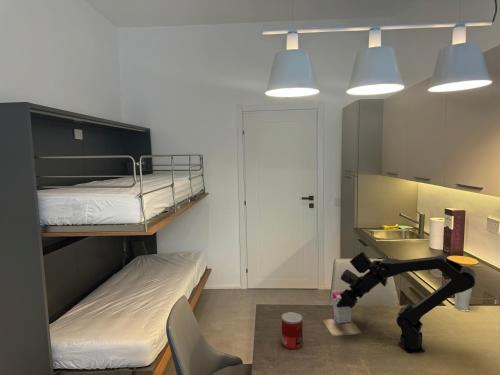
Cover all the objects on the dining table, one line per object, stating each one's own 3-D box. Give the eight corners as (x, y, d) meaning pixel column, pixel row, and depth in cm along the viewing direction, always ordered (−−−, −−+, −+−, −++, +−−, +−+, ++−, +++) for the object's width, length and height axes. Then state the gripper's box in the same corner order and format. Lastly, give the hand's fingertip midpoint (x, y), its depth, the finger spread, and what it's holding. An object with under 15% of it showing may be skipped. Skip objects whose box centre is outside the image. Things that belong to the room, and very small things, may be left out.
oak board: (348, 320, 148) (348, 317, 148) (361, 334, 136) (361, 332, 136) (322, 322, 147) (322, 319, 146) (332, 337, 135) (332, 334, 135)
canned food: (300, 351, 125) (300, 323, 124) (279, 347, 128) (279, 320, 126) (304, 340, 132) (304, 313, 131) (284, 337, 135) (284, 310, 134)
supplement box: (351, 323, 139) (351, 296, 137) (338, 325, 137) (338, 298, 136) (344, 316, 144) (344, 290, 143) (331, 318, 143) (331, 292, 142)
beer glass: (454, 303, 160) (455, 273, 158) (471, 307, 155) (473, 276, 154) (451, 309, 154) (453, 277, 153) (469, 313, 150) (471, 281, 148)
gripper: (360, 259, 143) (335, 279, 150) (345, 272, 128) (318, 294, 135) (380, 280, 139) (353, 300, 147) (366, 297, 124) (337, 318, 132)
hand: (340, 302), depth 140 cm, fingers closed on supplement box, 8 cm apart
